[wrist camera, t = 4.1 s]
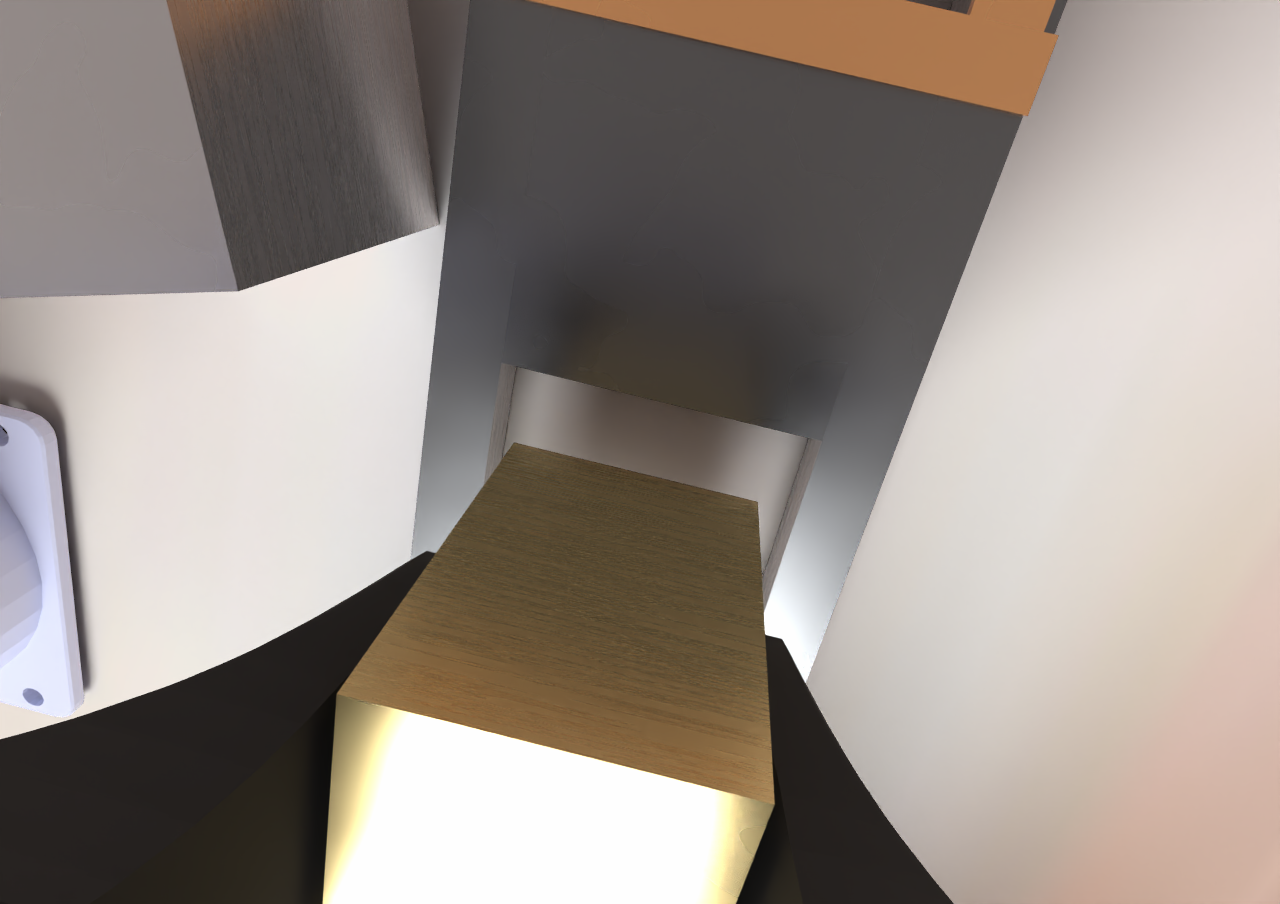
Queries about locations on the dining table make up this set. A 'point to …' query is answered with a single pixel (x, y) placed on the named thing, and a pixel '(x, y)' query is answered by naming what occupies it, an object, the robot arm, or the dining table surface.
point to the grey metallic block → (203, 141)
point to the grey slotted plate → (722, 232)
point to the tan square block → (562, 703)
